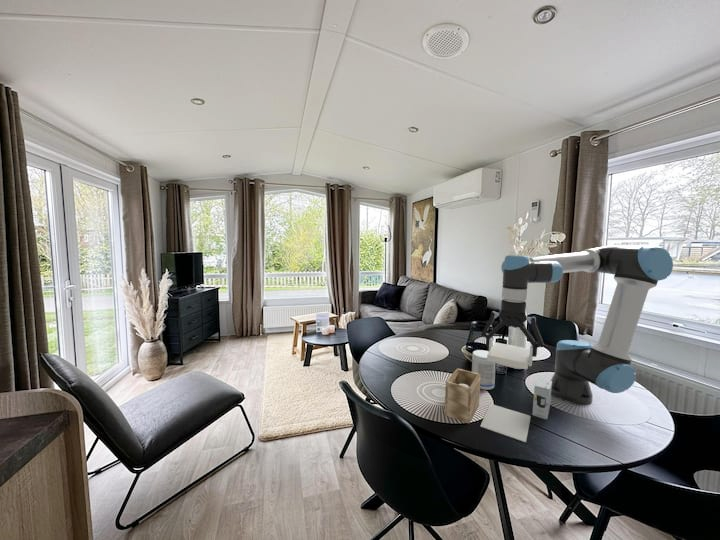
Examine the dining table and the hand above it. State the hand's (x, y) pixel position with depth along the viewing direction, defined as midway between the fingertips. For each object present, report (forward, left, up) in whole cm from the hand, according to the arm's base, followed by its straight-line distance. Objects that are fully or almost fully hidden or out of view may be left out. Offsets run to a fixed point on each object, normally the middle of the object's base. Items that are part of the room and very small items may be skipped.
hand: (509, 360), depth 102 cm
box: (+15, +2, -23) cm, 27 cm away
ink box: (-10, -14, -23) cm, 29 cm away
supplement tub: (+13, -23, -23) cm, 35 cm away
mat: (0, 0, -23) cm, 23 cm away
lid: (0, 0, +1) cm, 1 cm away
